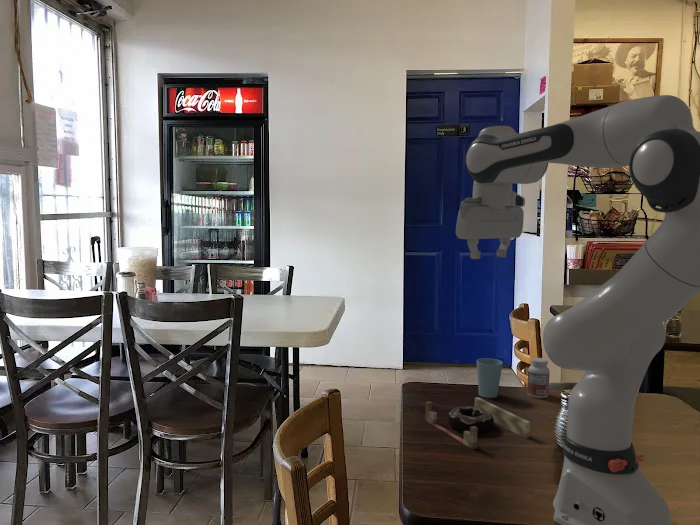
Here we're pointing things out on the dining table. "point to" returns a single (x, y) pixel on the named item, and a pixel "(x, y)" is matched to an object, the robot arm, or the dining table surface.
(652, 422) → the dining table surface
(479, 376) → the cup
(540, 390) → the pill bottle
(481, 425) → the donut
